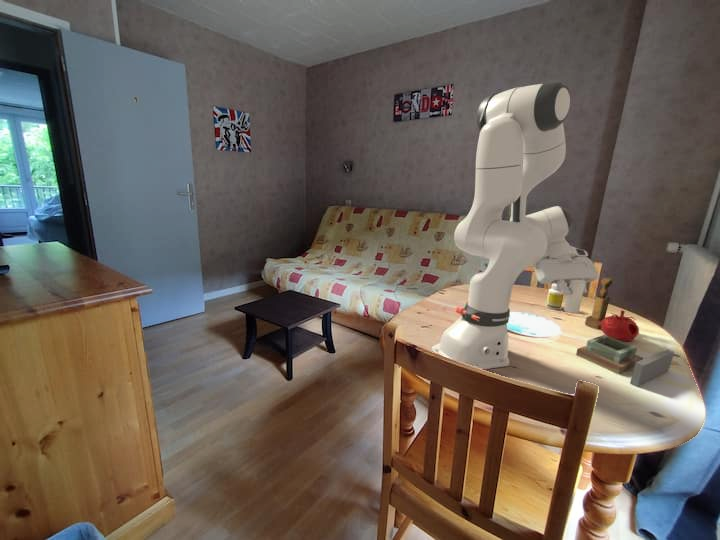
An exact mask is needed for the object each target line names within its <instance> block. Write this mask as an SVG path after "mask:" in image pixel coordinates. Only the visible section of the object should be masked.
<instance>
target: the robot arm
mask: <svg viewBox="0 0 720 540" xmlns="http://www.w3.org/2000/svg"><path fill="white" fill-rule="evenodd" d="M571 97H572V96H571V91H570V90H569V87H568V86H567V85H565V83H564V82H562V81H557V80H555V81H545V82H543V83H538V84H532V85H526V86H518V87H514V88H511V89H507V90H505V91H504V90H503V91H502V92H500V93H494V94H491V95H489V96H487V97H486V98H484V99H483V100H482V101H481V102H480V104H479V106H478V108H477V111H476V116H475V119H476V120H475V121H476V126H477V130H478V131H479V137H478V140H477V145H476V146H477V148H476V153H475V154H476V155H475V178H474V179H475V183H474V197H473V201H472V206H471V208H470V210H469V212H468V214H467V215H466V217H464V218H463V220H461V221H460V222H459V223H458V224H457V226H456V228H455V230H454V233H453V234H454V235H453V236H454V237H453V238H454V239H453V240H454V244H455V246H456V247H457V248H458V249H459V250H462V252H465V253H467V254H468V255H470V256H475V257H479V258H484V259H487V260H488V265H487V267H486V270H483V271H479V272H478V273H477V272H476V273H475V274H474V275H473V276H472V277H471V278H470V282H469V289H468V297H467V302H466V304H465V305H464V307H462V306H459V305H458V306H456V308H455V313H457V314H458V315H461V316H460V317H459V318H458V319H456V321H454V323H452V324H451V325H450V326H449V327H448V328H447V329H445V330H444V331H443V333H442V335H441V339H440V342H439V343H436V344H434V345H432V347H431V352H432V351H433V352H435V353H438V354H440V355H442V356H444V357H447V358H450V359H453V360H456V361H460V362H463V363H466V364H469V365H472V366H476V367H478V368H482V369H483V370H490V369H494V368H495V369H497V368H500V367H501V368H503V367H509V366H510V364H511V363H510V359H509V354H508V353H509V332H508V327H507V325H508V323H509V319H510V316H511V315H510V312H511V311H510V310H511V309H510V303H511V296H512V292H513V287H514V285H515V282H516V280H517V279H518V277H519V276H520V275H521V273H523V272H524V271H525V270H526V269H528V268H530V267H531V266H533V268H534V271H535V272H534V273H535V277H536V279H537V281H538V282H539V283H540V284H542V285H547V284H548V285H549V284H551V285H552V284H556V285H557V286H558V287H559V288H560V289H561V290H562V291H563V292H564V295H565V296H567V295H571V294H572V293H573V291H572V289H571V288H568V287H569V286H568V285H566V284H569V282H570V279H578V280H582V281H585V286H584V291H583V295H586V294H588V289H587V283H592V282H593V281H596V280H597V279H598V278H599V272H598V269H597V268H596V266H595V264H594V262H593V261H592V260H591V259H590V258H589V257H588V256H589V253H588V251H586V250H585V249H581V248H577V247H574V246H572V245H571V244H570V243H569V242H568V241H567V240H566V238H565V237H566V236H568V235H569V233H570V232H571V230H572V229H573V227H574V225H575V224H574V220H573V217H572V215H571V213H570V211H569V210H568V209H567V208H565V207H563V206H560V205H556V206H552V207H547V208H545V209H542V210H540V211H537V212H533V213H530V214H527V215H526V209H527V196H528V194H529V193H530V192H531V191H532V190H533V189H534V188H535V187H536V186H537V185H539V184H540V183H542V182H543V181H544V180H546V179H547V178H549V177H550V176H552V175H553V174H554V173H556V171H557V170H558V169H559V168H560V167H561V166H562V165H563V163H564V161H565V159H566V154H567V153H566V151H567V147H566V146H567V144H566V143H567V142H566V134H565V127H564V121H565V120H566V119H567V117H568V116H569V112H570V109H571ZM508 206H509V213H508V215H509V216H508V220H503V212H504V210H505V208H506V207H508ZM433 352H432V353H433Z"/></svg>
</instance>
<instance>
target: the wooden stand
mask: <svg viewBox="0 0 720 540" xmlns="http://www.w3.org/2000/svg"><path fill="white" fill-rule="evenodd" d="M600 283H601V286H602V288H601V289H600V290H599V293H600V294H596V295H595V299H594V304H593V308H592V312H591V315H589V316H586V318H585V322H584V324H585V325H586V327H589V328H592V329H595V330H601V322H602V320H603V319H604V318H605V317H607V313H608V307H609V302H610V300H611V299H610V298H611V297H609V296H608V293H609V290H608V289H609V287H611V285H612V284H613V280H612V279H611V278H609V277H603V278H602V279H601V281H600ZM601 331H602V330H601Z"/></svg>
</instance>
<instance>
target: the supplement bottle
mask: <svg viewBox="0 0 720 540" xmlns="http://www.w3.org/2000/svg"><path fill="white" fill-rule="evenodd" d="M550 287H551V288H549V289H548V292H547V298H546V302H545V307H546V308H548V309H551V310H561V309H562V304H563V299H564V295H565V294H564V292H563V291H562V290H561V289H560V288H559V287H558V286H557V285H556V283H553V284H551V286H550Z"/></svg>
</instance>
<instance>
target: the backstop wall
mask: <svg viewBox="0 0 720 540" xmlns="http://www.w3.org/2000/svg"><path fill="white" fill-rule="evenodd" d="M674 355H675V351H673V350H669V349H664V350H662V351H659V352H658V353H657V352H656V353H654V354H652V355H650V356H648V357H645V358H643V360H640V361H638V362H636V363H635V367H634V368H633V371H632V375H631V378H630V381H629V384H630V385H633V386H635V387H640V386H642V385H644V384H646V383H649V382H650V381H652V380H655V379H657V378H659V377H661V376H662V375H664V374H667V373H668V372H669V371H670V368H671V364H672V361H673V357H674Z"/></svg>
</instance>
